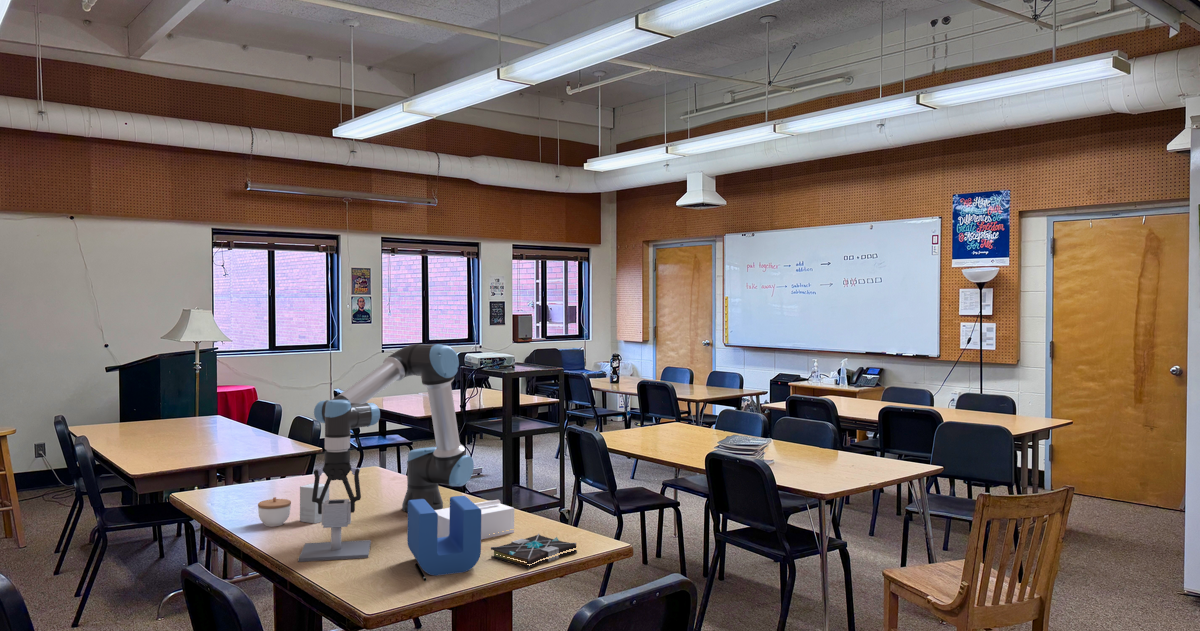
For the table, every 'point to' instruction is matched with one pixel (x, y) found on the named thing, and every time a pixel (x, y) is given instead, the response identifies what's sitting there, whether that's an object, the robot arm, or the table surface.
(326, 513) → the block
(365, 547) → the plate
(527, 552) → the book
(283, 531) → the table surface
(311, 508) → the supplement box
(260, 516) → the lidded jar
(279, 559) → the table surface
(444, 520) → the tissue box
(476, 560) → the block
